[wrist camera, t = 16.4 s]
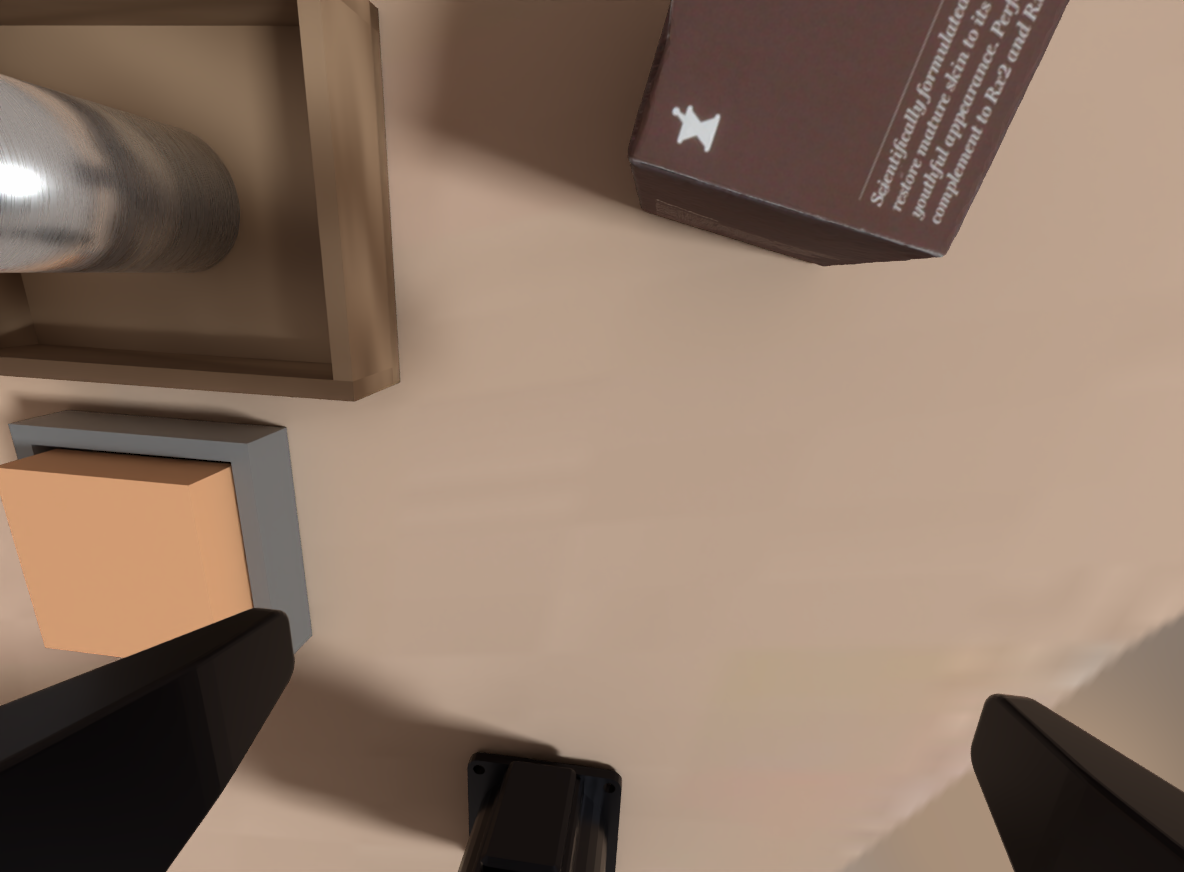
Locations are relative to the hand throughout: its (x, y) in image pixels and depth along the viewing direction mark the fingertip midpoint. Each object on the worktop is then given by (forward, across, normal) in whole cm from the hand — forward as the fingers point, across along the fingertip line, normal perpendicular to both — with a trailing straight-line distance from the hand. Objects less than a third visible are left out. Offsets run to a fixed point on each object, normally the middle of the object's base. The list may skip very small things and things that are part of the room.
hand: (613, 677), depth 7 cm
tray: (+12, +16, -6) cm, 21 cm away
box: (+12, -3, -9) cm, 16 cm away
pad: (+10, +18, +6) cm, 21 cm away
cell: (+12, +16, -6) cm, 20 cm away
